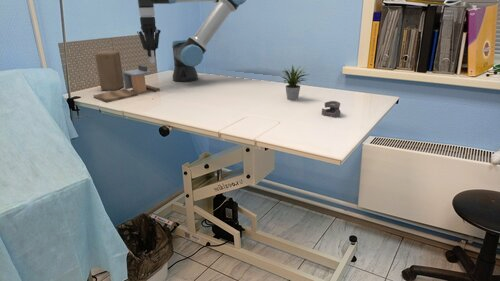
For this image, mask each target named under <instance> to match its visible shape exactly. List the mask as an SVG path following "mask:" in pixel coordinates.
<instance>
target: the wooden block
mask: <svg viewBox="0 0 500 281" xmlns="http://www.w3.org/2000/svg"><path fill="white" fill-rule="evenodd" d="M94 56H95V57H94V58H95V62H96V67H97V69H96V70H97V73H98V79H99V84H100V89H101V91H117V90H121V89H123V88H124V87H125V84H124V78H123V69H122V68H123V67H122V61H121V54H120V51H119V50H102V51H99V52H96V53H95V55H94Z"/></svg>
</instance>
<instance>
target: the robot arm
mask: <svg viewBox="0 0 500 281" xmlns="http://www.w3.org/2000/svg"><path fill="white" fill-rule="evenodd" d="M246 1H247V0H137V6H138V12H139V16H140V17H139V20H140V22H139V23H140V30H138V31H136V33H137V35H138V36H139V39H140V43H141V45H142V49H143V50H146V52H147V57H148V58H149V63H150V64H155V63H156V58H155V57H156V51H157V49H158V48H159V43H160V42H159V41H160V34H161V29H159V28H157V26H156V17H155V5H166V4H167V5H168V4H169V5H172V4H176V3H195V2H197V3H199V2H212V3H216V5H214V7H213V9H212V10H211V11H210V13H209V14H208V15H207V17H206V18H205V20H204V21H203V23H202V24H201V25H200V27H199V28H198V29H197V31H196V32H195V33H194V35H192V36H189V37H188V38H187V39H180V40H179V39H178V40H174V41H172V46H171V48H172V54H173V55H172V56H173V65H174V68H173V73H172V81H174V82H178V83H179V82H180V83H182V82H184V83H185V82H186V83H187V82H193V81H196V80H199V74H198V72H197V70H196V66H199V65H200V64H201V63H202V62H203V59H204V54H205V53H206V51H207V45H208V44H209V42H210V41H212V39H213V37H214V36H215V34H216V33H218V30H219V29H220V27H221V26H222V25H223V24H224V22H225V21H226V19H227V18H228V17H229V16H230V15H231V13H232V12H235V11H237V9H238V8H239V6H241V5H243V4H245V3H246Z"/></svg>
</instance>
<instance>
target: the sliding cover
mask: <svg viewBox="0 0 500 281" xmlns="http://www.w3.org/2000/svg"><path fill="white" fill-rule="evenodd" d="M137 67H138V69H131V70H125V71H122V73H123V80H124V89H126V90H129V89H133V87H132V80H131V75H132V76H139V75H144V76H145V75H150V74H152V73H153V71H152V70H151V71H150V70H148V66H146V65H142V64H140V65H137Z"/></svg>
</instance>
